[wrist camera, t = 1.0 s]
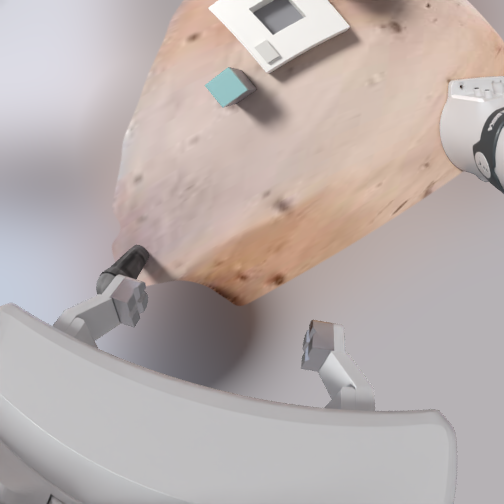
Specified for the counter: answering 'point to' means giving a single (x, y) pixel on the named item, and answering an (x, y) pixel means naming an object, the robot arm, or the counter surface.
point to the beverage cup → (124, 267)
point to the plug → (230, 87)
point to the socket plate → (279, 27)
